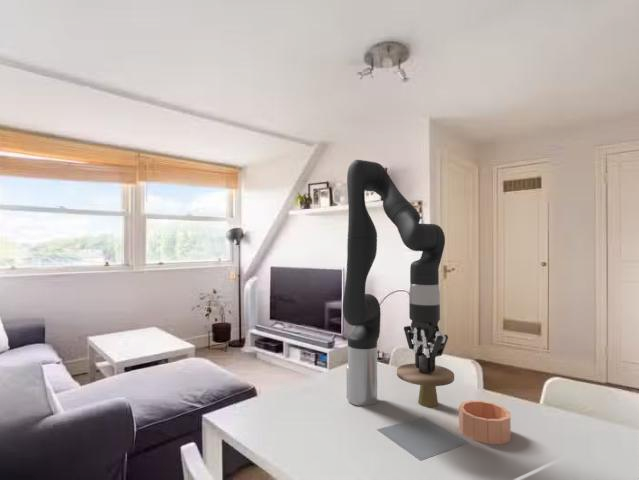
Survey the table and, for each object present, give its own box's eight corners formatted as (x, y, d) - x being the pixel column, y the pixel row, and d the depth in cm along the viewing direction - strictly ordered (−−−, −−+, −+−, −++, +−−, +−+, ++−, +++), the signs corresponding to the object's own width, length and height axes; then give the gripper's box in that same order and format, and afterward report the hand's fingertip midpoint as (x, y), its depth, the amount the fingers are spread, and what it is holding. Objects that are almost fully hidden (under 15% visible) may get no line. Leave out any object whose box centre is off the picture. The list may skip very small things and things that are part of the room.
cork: (439, 409, 110) (439, 372, 110) (418, 408, 111) (418, 371, 111) (437, 401, 116) (437, 366, 116) (417, 399, 117) (417, 364, 117)
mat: (376, 431, 97) (376, 429, 97) (422, 418, 104) (422, 416, 104) (420, 462, 83) (420, 460, 83) (469, 444, 90) (469, 442, 90)
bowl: (449, 428, 98) (449, 405, 98) (480, 418, 104) (480, 397, 104) (489, 450, 88) (489, 424, 88) (520, 438, 93) (520, 414, 94)
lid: (385, 372, 97) (385, 353, 97) (425, 364, 103) (425, 346, 104) (424, 390, 84) (424, 368, 85) (466, 379, 91) (466, 359, 91)
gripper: (456, 304, 90) (457, 375, 90) (416, 297, 102) (416, 360, 102) (434, 306, 86) (434, 381, 86) (395, 299, 99) (395, 364, 98)
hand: (424, 369), depth 94 cm, fingers closed on lid, 3 cm apart
